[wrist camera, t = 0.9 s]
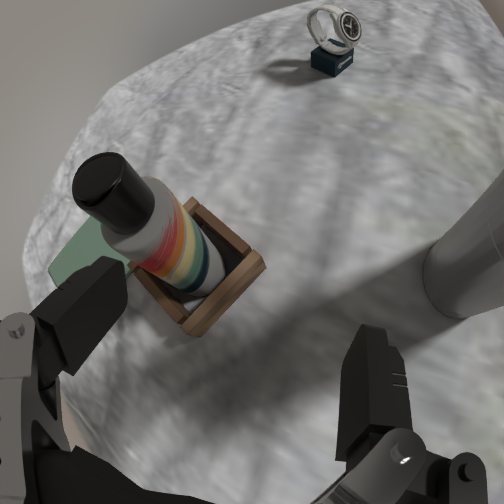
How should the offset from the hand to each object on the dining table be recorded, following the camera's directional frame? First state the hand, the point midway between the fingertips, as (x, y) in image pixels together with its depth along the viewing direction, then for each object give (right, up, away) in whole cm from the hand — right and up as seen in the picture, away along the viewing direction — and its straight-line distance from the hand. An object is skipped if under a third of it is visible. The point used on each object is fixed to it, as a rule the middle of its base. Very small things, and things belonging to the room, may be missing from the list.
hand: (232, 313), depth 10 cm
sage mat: (-20, 0, +27) cm, 34 cm away
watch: (+13, +31, +32) cm, 46 cm away
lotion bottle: (-5, 0, +24) cm, 25 cm away
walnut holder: (-5, 0, +24) cm, 24 cm away
